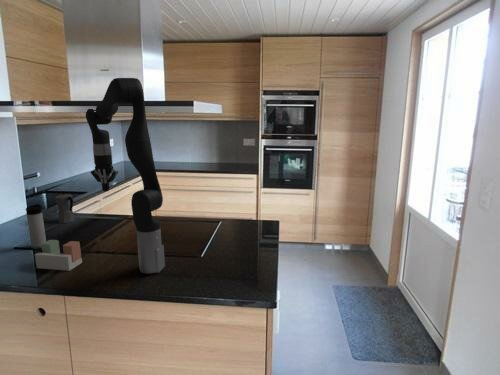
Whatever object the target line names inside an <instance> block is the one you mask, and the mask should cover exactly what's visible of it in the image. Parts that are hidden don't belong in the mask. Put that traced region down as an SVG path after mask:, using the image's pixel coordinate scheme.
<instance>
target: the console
mask: <svg viewBox="0 0 500 375" xmlns="http://www.w3.org/2000/svg"><path fill="white" fill-rule="evenodd" d="M34 259H35V264H36V269H43V270H44V269H45V270H57V271H67V272H69V271H72V270H73V269H74V268H77V267H78V266H79V265H81V264H82V263H83V259H82V257H81V258H79V259H77V260H76V261H74V262H72V258H71V255H65V254H64V252H62V253H61V252H60V254H52V253H42V252H36V253H35V254H34Z"/></svg>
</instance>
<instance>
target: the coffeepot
mask: <svg viewBox="0 0 500 375" xmlns="http://www.w3.org/2000/svg"><path fill="white" fill-rule="evenodd" d="M65 192H66V191H61V193H62V194H59V195H58V194H57V195H56V196H55V197H54V198H55V202H56V204H57V208H58V220H57V221H58V223H59V224H71V223H73V222H75V221H76V216H75V215H74V210H73V205H74V199H73V197H74V196H73V194H69V193H67V194H66V193H65Z"/></svg>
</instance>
